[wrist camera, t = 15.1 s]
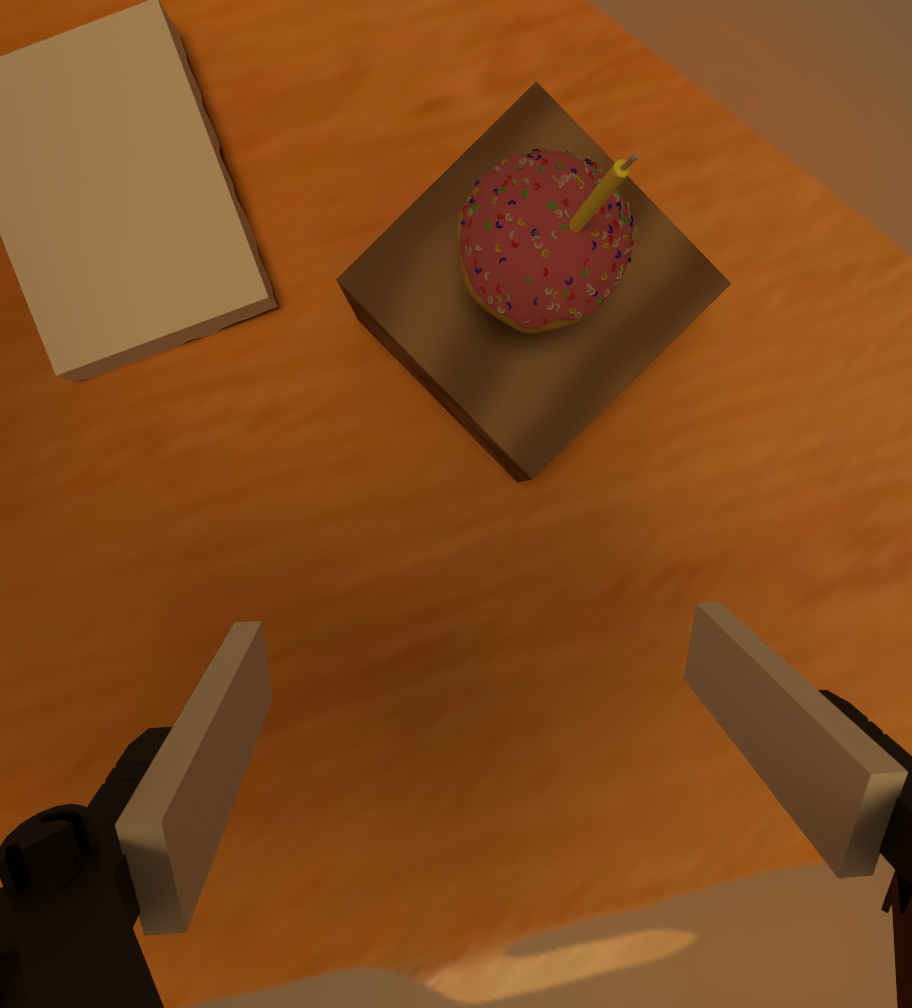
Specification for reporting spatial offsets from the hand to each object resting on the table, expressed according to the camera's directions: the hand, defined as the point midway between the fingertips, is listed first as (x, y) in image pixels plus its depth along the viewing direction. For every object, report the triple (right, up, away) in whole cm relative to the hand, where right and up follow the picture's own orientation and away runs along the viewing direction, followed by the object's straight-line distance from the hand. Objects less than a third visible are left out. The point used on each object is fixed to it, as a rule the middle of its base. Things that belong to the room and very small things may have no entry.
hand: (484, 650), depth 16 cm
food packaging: (-24, +25, +22) cm, 41 cm away
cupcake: (+3, +17, +15) cm, 23 cm away
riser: (+4, +17, +21) cm, 28 cm away
